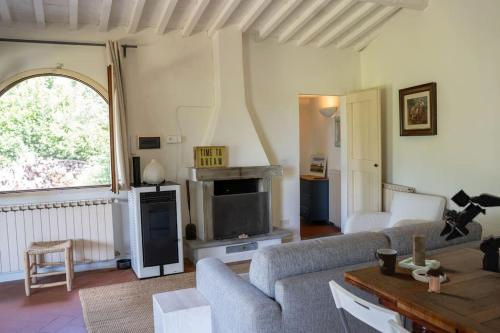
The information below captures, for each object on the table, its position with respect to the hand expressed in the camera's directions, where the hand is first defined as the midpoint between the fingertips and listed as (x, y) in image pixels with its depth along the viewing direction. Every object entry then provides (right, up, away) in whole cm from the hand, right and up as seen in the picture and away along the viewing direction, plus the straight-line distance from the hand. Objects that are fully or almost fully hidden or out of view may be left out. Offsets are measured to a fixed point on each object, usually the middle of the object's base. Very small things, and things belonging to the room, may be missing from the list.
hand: (442, 238), depth 188 cm
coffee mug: (-28, -15, -4) cm, 32 cm away
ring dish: (-13, -15, -14) cm, 24 cm away
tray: (-10, -14, +2) cm, 17 cm away
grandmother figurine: (-17, -16, -30) cm, 38 cm away
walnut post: (-10, -13, +2) cm, 17 cm away
